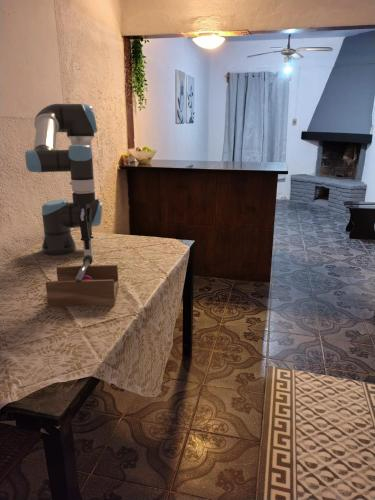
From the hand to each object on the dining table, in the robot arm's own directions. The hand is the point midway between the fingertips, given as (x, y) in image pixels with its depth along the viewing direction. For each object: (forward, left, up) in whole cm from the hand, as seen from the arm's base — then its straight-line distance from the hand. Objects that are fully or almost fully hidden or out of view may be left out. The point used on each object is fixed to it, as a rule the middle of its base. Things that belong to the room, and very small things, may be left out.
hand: (88, 257), depth 137 cm
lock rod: (+10, 0, -2) cm, 10 cm away
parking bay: (+11, 0, -11) cm, 15 cm away
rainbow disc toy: (+11, 0, -11) cm, 15 cm away
